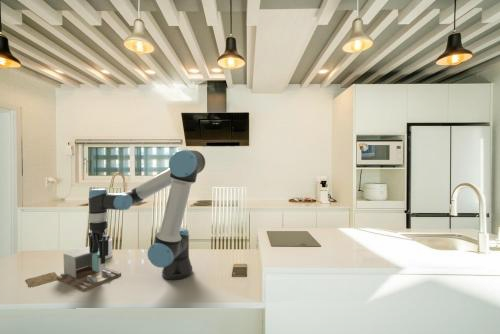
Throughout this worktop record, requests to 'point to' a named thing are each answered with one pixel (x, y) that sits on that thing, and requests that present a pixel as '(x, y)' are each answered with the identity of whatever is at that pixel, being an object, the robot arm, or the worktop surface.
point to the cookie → (41, 279)
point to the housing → (77, 260)
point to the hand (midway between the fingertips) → (99, 268)
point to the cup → (109, 248)
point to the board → (89, 277)
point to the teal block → (95, 261)
